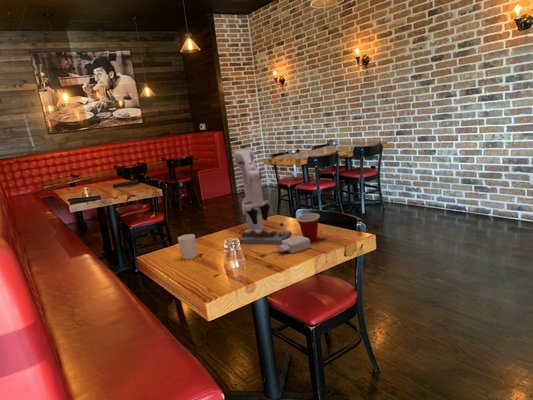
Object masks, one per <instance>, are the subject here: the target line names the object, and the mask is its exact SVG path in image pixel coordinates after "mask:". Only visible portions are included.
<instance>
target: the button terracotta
mask: <svg viewBox="0 0 533 400" xmlns="http://www.w3.org/2000/svg"><path fill="white" fill-rule="evenodd" d="M265 231H266V232H267V234H272V233H273V231H274V229H272V228H270V229H267V230H265Z"/></svg>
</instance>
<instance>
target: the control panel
mask: <svg viewBox="0 0 533 400" xmlns="http://www.w3.org/2000/svg"><path fill="white" fill-rule="evenodd" d="M291 236H292V231H290V230H289V231H287V230H286V231H284V230H282V233H280V230H278V231H277V230H273V233H272V234H267V232H266V230H262V233H261V234H256V231H251V233H250V234H245V231H244V232H242V233H241V236H239V237H238V238H237V239H239V240H240V243H241V244H243V245H246V244H247V245H282V240H285V239H288V238H291ZM241 244H240V245H241Z"/></svg>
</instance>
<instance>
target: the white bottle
mask: <svg viewBox="0 0 533 400" xmlns="http://www.w3.org/2000/svg"><path fill="white" fill-rule="evenodd" d="M310 248H311V242H310V240H309V239H308V238H306V237H303V235H296V236H292V237H289V238H288V239H285V240H282V244H280V245H278V246H277V247H276V248H274V250H275V251H278V252H281V253H284V252H288V253H291V254H297V253H299V252H302V251H305V250H308V249H310Z"/></svg>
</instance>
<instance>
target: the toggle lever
mask: <svg viewBox="0 0 533 400" xmlns="http://www.w3.org/2000/svg"><path fill="white" fill-rule="evenodd" d="M279 227H280V228H279V229H280V230H279V231H280V233H282V231H283V227H284V223H283V222H280V223H279Z"/></svg>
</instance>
